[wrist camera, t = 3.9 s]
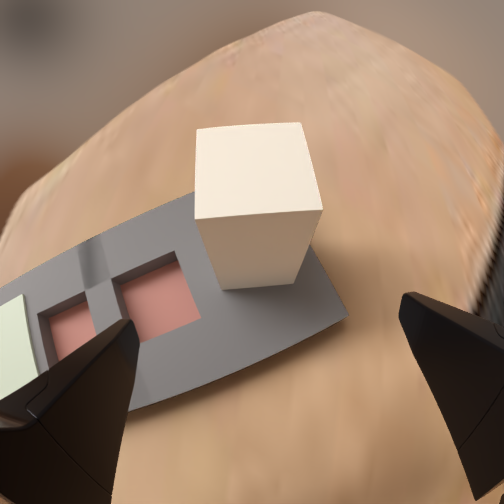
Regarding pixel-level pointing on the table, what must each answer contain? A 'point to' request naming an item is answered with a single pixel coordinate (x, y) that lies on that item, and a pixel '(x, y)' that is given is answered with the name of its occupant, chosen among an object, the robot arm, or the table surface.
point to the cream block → (255, 202)
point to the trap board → (156, 307)
